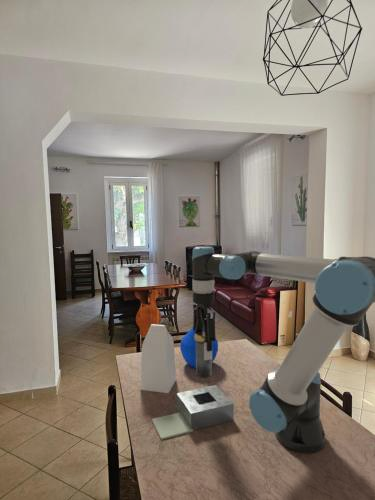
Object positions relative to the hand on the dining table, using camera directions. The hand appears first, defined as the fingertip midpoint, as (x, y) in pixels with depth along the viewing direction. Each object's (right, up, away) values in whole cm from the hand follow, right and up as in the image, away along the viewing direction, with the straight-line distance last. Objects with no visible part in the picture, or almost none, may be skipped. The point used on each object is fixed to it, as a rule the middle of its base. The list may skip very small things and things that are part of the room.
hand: (203, 355), depth 117 cm
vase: (0, -18, +44) cm, 47 cm away
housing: (0, -22, +2) cm, 22 cm away
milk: (-18, -20, +24) cm, 36 cm away
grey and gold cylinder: (0, -7, +1) cm, 7 cm away
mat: (-11, -22, -5) cm, 25 cm away
